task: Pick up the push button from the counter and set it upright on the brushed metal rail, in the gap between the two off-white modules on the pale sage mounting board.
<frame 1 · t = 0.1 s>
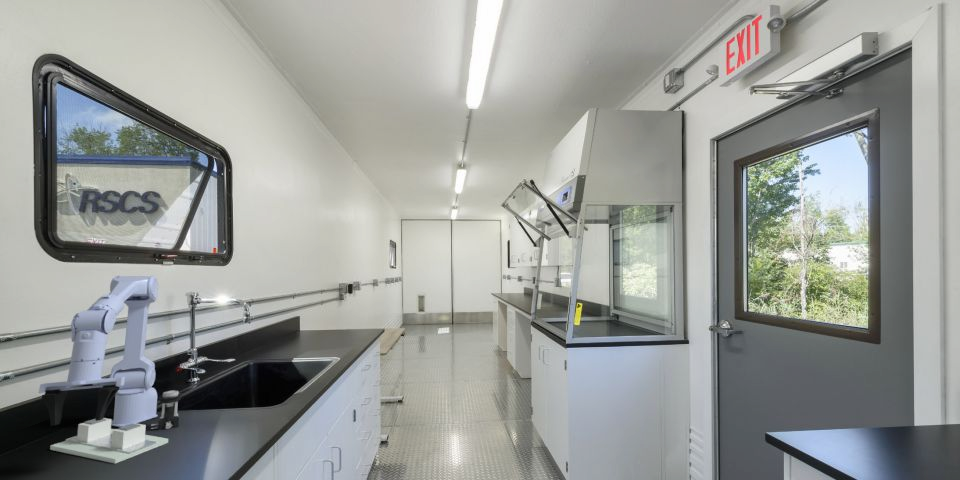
hand: (77, 422, 91), 11 cm above the counter, tool pointing down, fingers open, 7 cm apart
mounting board: (110, 446, 103), on the counter
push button: (165, 428, 115), on the counter
rail: (110, 441, 103), on the mounting board, point 1 cm above the counter
mounted modules: (111, 431, 103), on the rail, point 4 cm above the counter
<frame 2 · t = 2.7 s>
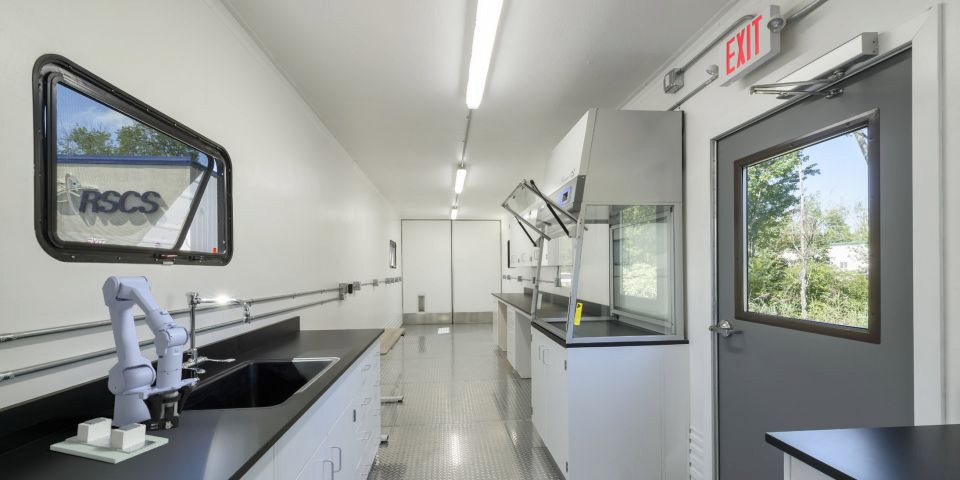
hand: (166, 417, 115), 3 cm above the counter, tool pointing down, fingers open, 6 cm apart
nothing on the counter moved.
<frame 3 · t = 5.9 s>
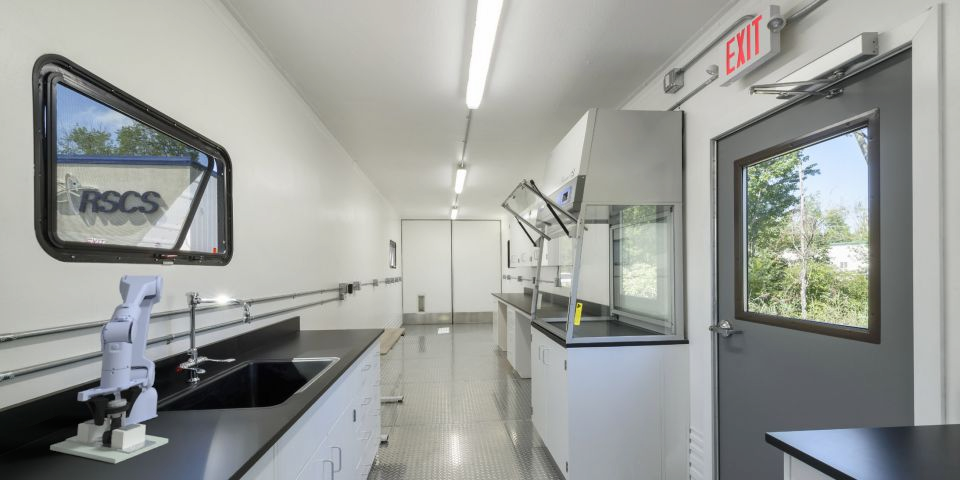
hand: (112, 421, 103), 6 cm above the counter, tool pointing down, fingers closed on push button, 5 cm apart
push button: (111, 441, 102), point 1 cm above the counter, touching gripper, rail
when the fingers open (6 cm above the counter, at t = 6.5 s): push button stays where it is, resting on rail.
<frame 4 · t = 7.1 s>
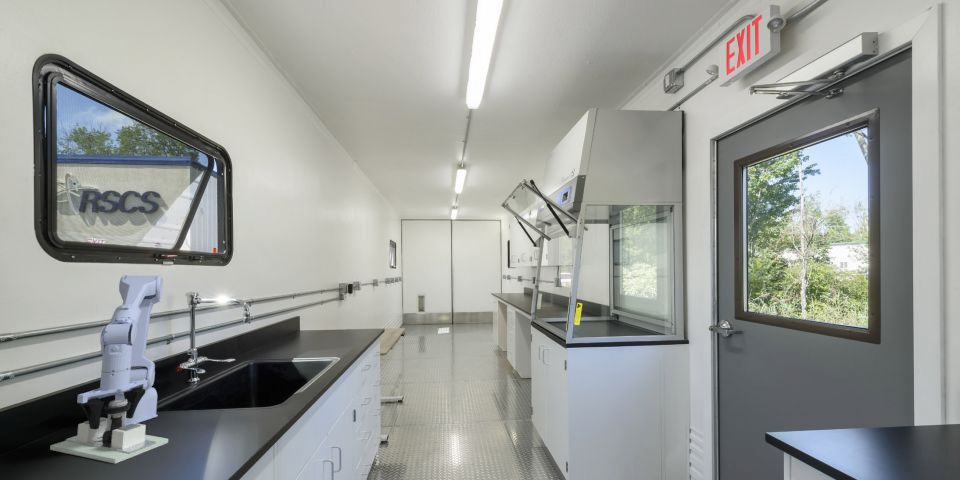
hand: (112, 423, 103), 6 cm above the counter, tool pointing down, fingers open, 7 cm apart
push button: (111, 442, 102), point 1 cm above the counter, touching rail
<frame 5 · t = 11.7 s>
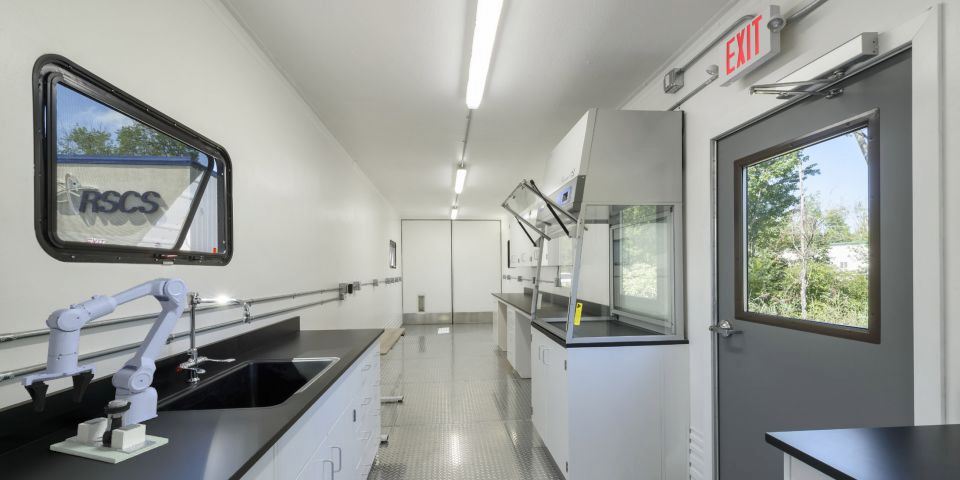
hand: (58, 406, 105), 9 cm above the counter, tool pointing down, fingers open, 7 cm apart
nothing on the counter moved.
at the end: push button 0.9 cm off-centre on the mounting board, point 1.2 cm above the mounting board's base; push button tilted 0°; the gripper is holding nothing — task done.
